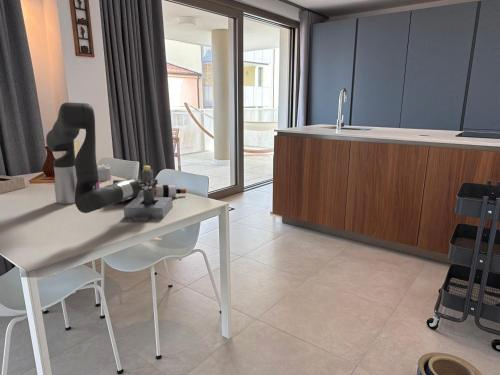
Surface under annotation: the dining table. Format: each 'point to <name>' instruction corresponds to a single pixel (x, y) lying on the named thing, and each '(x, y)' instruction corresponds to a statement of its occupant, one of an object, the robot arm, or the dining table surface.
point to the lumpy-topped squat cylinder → (104, 172)
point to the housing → (148, 209)
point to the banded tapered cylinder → (159, 191)
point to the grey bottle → (148, 176)
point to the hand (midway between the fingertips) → (151, 181)
